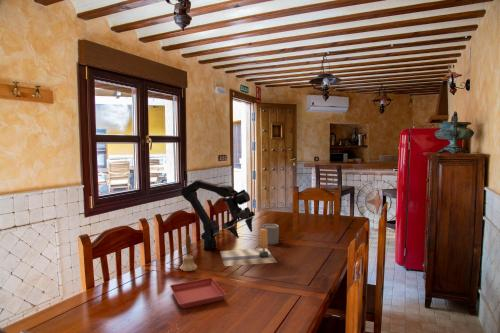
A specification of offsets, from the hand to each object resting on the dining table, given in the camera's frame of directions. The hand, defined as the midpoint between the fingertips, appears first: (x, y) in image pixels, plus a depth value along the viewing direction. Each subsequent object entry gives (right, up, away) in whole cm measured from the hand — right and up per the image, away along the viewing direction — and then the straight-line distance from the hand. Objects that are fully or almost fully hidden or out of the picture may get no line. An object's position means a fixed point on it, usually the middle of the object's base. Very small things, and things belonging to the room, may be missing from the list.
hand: (245, 234), depth 187 cm
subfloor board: (+1, -11, -7) cm, 13 cm away
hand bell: (-27, -12, -19) cm, 35 cm away
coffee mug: (+16, -9, +23) cm, 29 cm away
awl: (+10, -10, -7) cm, 15 cm away
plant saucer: (-18, -15, -50) cm, 55 cm away
